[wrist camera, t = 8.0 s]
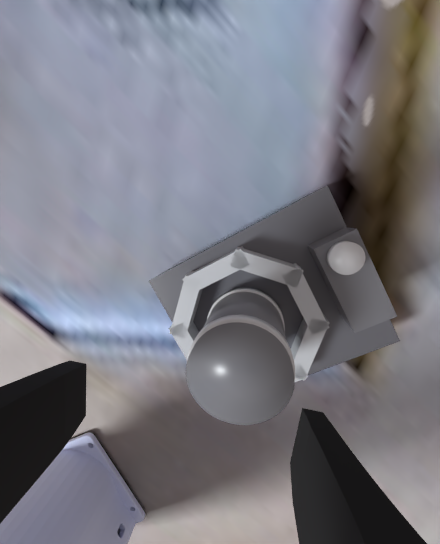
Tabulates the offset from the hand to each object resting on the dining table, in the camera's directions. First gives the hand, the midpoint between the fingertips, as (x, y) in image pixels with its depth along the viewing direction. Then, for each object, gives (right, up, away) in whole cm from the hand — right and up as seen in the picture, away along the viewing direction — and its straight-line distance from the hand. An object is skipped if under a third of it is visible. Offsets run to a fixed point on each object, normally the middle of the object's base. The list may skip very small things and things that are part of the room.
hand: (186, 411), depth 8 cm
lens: (+3, +1, +8) cm, 8 cm away
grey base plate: (+4, +3, +10) cm, 11 cm away
